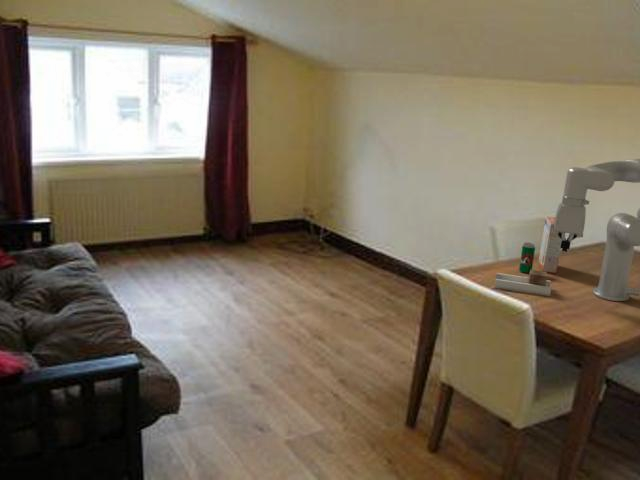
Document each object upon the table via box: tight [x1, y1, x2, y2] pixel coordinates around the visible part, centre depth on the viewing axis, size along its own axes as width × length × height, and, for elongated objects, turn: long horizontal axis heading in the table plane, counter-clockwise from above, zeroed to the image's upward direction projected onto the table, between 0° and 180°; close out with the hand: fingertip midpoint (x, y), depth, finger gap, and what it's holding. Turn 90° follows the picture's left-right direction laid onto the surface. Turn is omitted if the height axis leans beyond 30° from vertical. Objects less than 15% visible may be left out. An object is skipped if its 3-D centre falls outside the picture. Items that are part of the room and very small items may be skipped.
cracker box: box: [537, 216, 562, 274], centre depth 260 cm, size 14×6×21 cm, turn 168°
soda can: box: [518, 242, 536, 274], centre depth 254 cm, size 5×5×12 cm
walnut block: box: [528, 269, 548, 286], centre depth 233 cm, size 6×6×6 cm
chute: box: [494, 272, 552, 297], centre depth 236 cm, size 20×9×3 cm, turn 72°
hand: (564, 250), depth 228 cm, fingers closed
